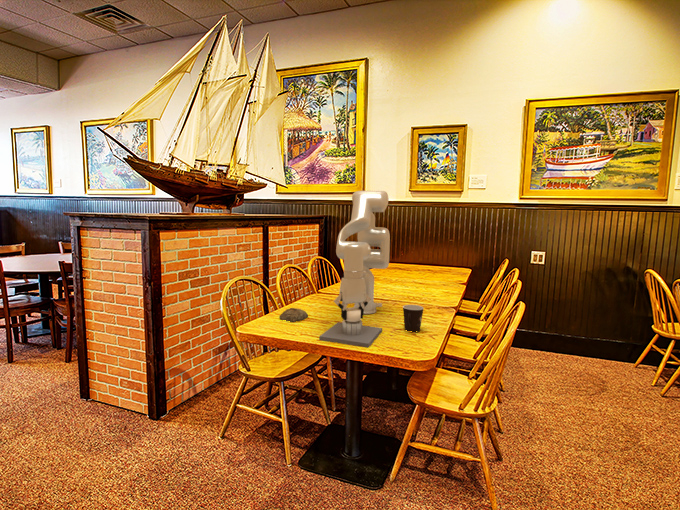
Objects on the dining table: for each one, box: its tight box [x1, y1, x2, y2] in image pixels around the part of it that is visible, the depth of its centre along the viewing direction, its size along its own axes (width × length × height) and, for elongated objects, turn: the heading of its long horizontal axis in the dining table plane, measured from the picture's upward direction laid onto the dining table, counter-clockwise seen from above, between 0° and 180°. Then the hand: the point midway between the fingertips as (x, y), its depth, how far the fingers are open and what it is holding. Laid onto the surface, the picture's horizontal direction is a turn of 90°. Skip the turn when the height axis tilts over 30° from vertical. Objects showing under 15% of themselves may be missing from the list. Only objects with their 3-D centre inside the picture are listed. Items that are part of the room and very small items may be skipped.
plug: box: [346, 306, 362, 324], centre depth 150 cm, size 7×7×8 cm
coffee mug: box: [402, 304, 424, 333], centre depth 157 cm, size 12×9×10 cm
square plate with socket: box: [319, 319, 383, 348], centre depth 150 cm, size 20×20×6 cm
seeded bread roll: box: [279, 307, 309, 323], centre depth 173 cm, size 13×12×5 cm
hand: (352, 318), depth 149 cm, fingers closed on plug, 6 cm apart
